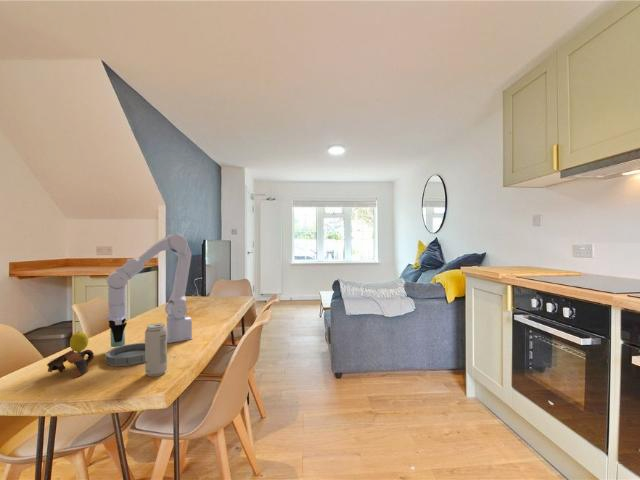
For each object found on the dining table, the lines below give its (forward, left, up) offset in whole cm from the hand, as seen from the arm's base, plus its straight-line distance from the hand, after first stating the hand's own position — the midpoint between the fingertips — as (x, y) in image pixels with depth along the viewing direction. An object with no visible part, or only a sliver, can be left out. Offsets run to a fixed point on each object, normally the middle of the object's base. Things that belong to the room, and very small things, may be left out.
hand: (117, 340), depth 124 cm
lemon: (+12, -6, -4) cm, 14 cm away
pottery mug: (+13, +16, -4) cm, 21 cm away
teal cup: (0, 0, -2) cm, 2 cm away
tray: (-4, +12, -4) cm, 13 cm away
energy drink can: (-9, +32, -4) cm, 33 cm away
